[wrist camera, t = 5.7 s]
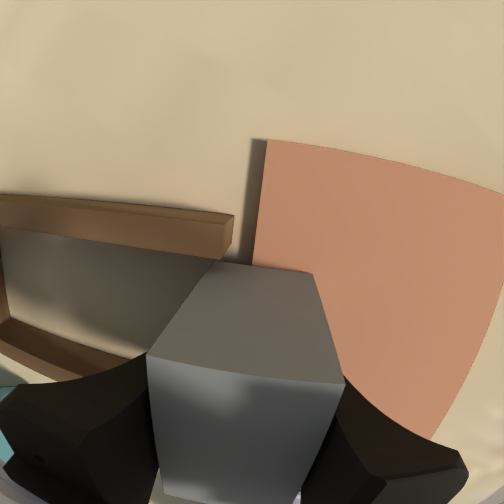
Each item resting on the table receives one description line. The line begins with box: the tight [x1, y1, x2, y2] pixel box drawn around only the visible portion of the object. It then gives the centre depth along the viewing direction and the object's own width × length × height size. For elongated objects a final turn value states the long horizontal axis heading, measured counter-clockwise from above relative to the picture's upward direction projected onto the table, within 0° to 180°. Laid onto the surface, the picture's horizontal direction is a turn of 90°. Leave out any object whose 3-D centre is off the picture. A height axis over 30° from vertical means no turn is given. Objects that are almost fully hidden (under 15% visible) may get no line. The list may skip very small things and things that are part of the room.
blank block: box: [146, 260, 346, 504], centre depth 10 cm, size 6×4×7 cm, turn 173°
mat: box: [252, 139, 504, 440], centre depth 13 cm, size 16×13×1 cm
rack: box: [0, 194, 234, 382], centre depth 12 cm, size 10×16×4 cm, turn 83°
